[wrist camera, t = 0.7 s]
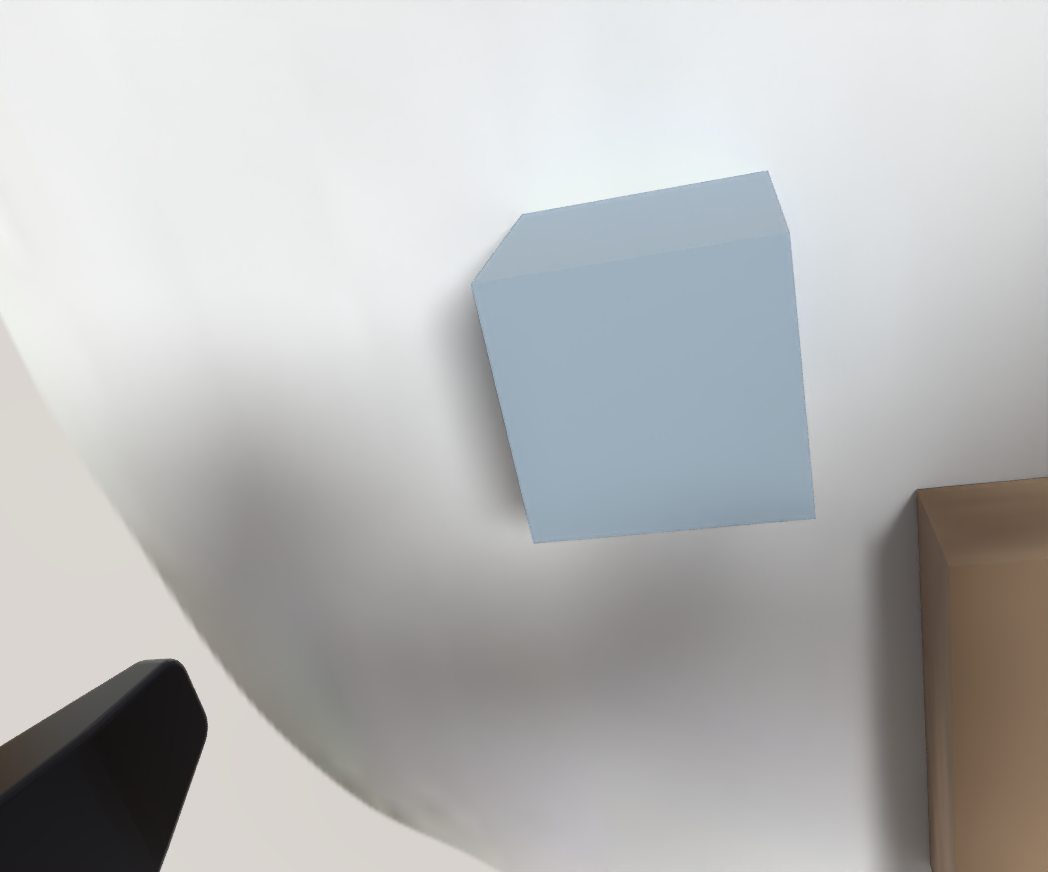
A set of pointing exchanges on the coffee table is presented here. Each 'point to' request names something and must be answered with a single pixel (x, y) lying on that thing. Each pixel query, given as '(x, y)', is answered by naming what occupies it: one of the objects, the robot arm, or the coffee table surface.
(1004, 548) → the walnut plinth
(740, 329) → the slate block
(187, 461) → the coffee table surface
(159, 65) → the coffee table surface
